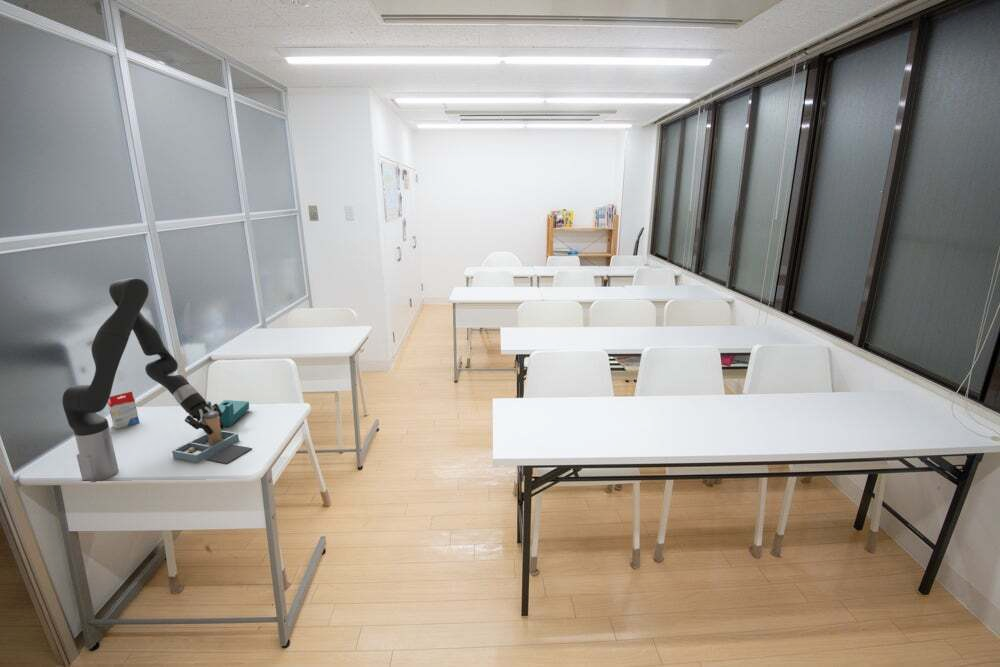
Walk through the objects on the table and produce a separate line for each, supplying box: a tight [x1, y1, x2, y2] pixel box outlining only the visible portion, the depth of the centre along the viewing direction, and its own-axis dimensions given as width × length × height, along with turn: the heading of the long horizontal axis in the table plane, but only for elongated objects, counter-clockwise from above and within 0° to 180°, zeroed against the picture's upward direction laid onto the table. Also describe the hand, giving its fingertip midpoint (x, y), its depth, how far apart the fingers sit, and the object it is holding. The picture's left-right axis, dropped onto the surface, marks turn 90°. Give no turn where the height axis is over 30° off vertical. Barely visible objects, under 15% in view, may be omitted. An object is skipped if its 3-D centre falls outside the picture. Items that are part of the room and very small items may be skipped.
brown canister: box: [204, 411, 224, 446], centre depth 192 cm, size 5×5×13 cm
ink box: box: [107, 391, 140, 430], centre depth 209 cm, size 8×5×15 cm, turn 139°
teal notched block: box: [206, 399, 250, 427], centre depth 216 cm, size 18×11×10 cm, turn 2°
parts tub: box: [171, 429, 240, 464], centre depth 190 cm, size 19×12×3 cm, turn 162°
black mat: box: [205, 443, 253, 465], centre depth 186 cm, size 12×10×1 cm
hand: (217, 430), depth 192 cm, fingers closed on brown canister, 4 cm apart
